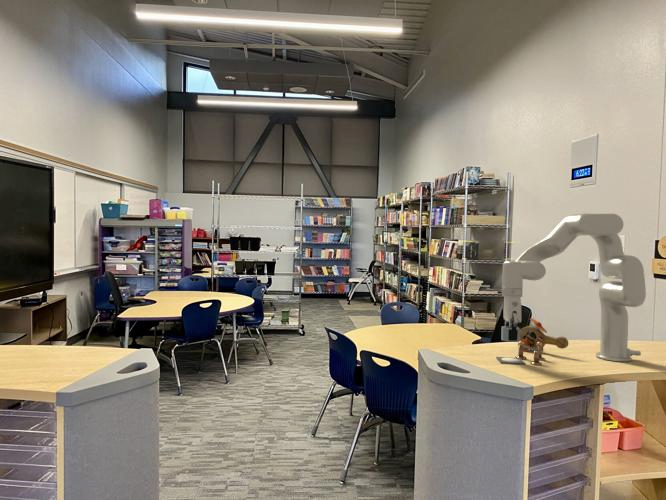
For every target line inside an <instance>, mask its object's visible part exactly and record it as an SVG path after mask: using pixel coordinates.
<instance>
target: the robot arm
mask: <svg viewBox="0 0 666 500" xmlns="http://www.w3.org/2000/svg"><path fill="white" fill-rule="evenodd" d="M624 224H625V223H624V220H623V218H622V217H621V216H620V215H619V214H616V213H578V214H577V213H576V214H570V215H566V216H565V217H563V219H561V221H560V222H559V223H558V224H557V225H556V226H555V227H554V228H553V229H552V230H551V231H550V232H549V233H548V234H547V236H546V237H544V238H543V239H542V240H540V241H538V242H537V243H535V244H534V245H532V246H530V247H529V248H527V249H526V250H525V251H524V252H523V253H522V254H521V255H520V256H519V257H518V258H517V259H516V260H506V261H503V263H502V274H501V275H502V276H501V279H502V280H501V281H502V282H501V296H502V297H503V315H502V316H503V320H504V326H509V328H510V330H509V333H508V340H513V341H517V335H518V327H519V326H518V324H520V323H522V299H521V298H523V291H524V290H523V285H524V280H527V281H539V280H541V279H543V278H544V277H545V275H546V271H547V270H546V267H545V265H544V264H543V263H541V262H543V261H544V260H546V259H549V258H553V257H556V256H559V255H560V254H562V253H564V252H565V251H566V249H568V247H569V246H570V245H571V244H572V243H573V242H574V241H575V240H576V239H577V238H578V237H579V236H590V237H591V238H592V239H593V240H594V241H595V242H596V244H597V248H598V256H599V257H598V258H599V265H600V272H601V274H602V275H603V276H604V277H606V278H610V279H618V281H617V280H616V281H615V280H610V281H606V282H604V283H602V284H601V285H600V287H599V289H598V297H599V301H600V302H599V303H600V309H601V310H600V314H601V315H600V317H601V318H600V350H599V352H596V353H595V357H596V358H598V359H600V360H605V361H611V362H623V363H625V362H627V363H628V362H631V361H632V360H633V359H632V358H633V357H632V356H638V357H639V356H641V355H642V353H641V351H640V350H634V349H630V348H628V342H629V341H628V337H629V334H628V333H629V314H628V310H627V308H637V307H641V306H642V305H643V304H644V303H645V301H646V296H647V292H646V291H647V290H646V280H645V270H644V265H643V263H642V261H641V260H640V259H639V258H638V257H636V256H635V255H628V254H627V255H625V254H624V249H623V248H624V247H623V243H622V240H621V237H620V236H619V233H621V232H622V230H623V228H624ZM619 280H621V281H619ZM626 307H627V308H626Z"/></svg>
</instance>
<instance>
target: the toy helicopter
mask: <svg viewBox="0 0 666 500" xmlns="http://www.w3.org/2000/svg"><path fill="white" fill-rule="evenodd" d="M529 320H530V321H531V322H532V323H533V324H532V326H531V325H527V326H523V327H522V328H520V341H523V342H524V345H526V346H529V347H532V348H535V349H536V348H537V345H536V344H537V342H541V343H542V353H543V352H544V347H545V346H546V345H552V346H556V347H557V348H559V349H566V348H567V347H568V346H569V340H568V339H567V337H565V336H558V337H554V336H550V335H545V334H544V333H548V331H547V330H546V329H545V328H544V327H543V326H542V323H541V322H540V321H537V320H536V319H535V318H529ZM517 347H518V348H519V345H518V344H517ZM528 350H529V349H528V348H525V347H523V352H526V351H528Z"/></svg>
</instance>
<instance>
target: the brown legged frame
mask: <svg viewBox="0 0 666 500" xmlns="http://www.w3.org/2000/svg"><path fill="white" fill-rule="evenodd" d="M518 345H519V347H518V355H515V357H514V358H520V359H521V360H527V356H525V355H524V351H523V347H525V348H528V350H531V351H533V361H530V364H531V365H533V366H542V365H543V362H541V361H545V357H542V355H543V352H542V343H541V342H537V344H536V345H537V348H536V349H535V348H532V347H529V346H526V345H524V342H523V341H520V342H517V346H518Z"/></svg>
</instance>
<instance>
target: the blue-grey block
mask: <svg viewBox="0 0 666 500" xmlns="http://www.w3.org/2000/svg"><path fill="white" fill-rule="evenodd" d="M509 330H510V328H509V326H505V325H504V326H503V325H502V326H501V330H500V331H501V336H500V337H501V338H500V339H501V341H505V342H510V343H518V342H520V331H521V328H520V327H519V326H518V335H517V341H513V340H508V333H509Z"/></svg>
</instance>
